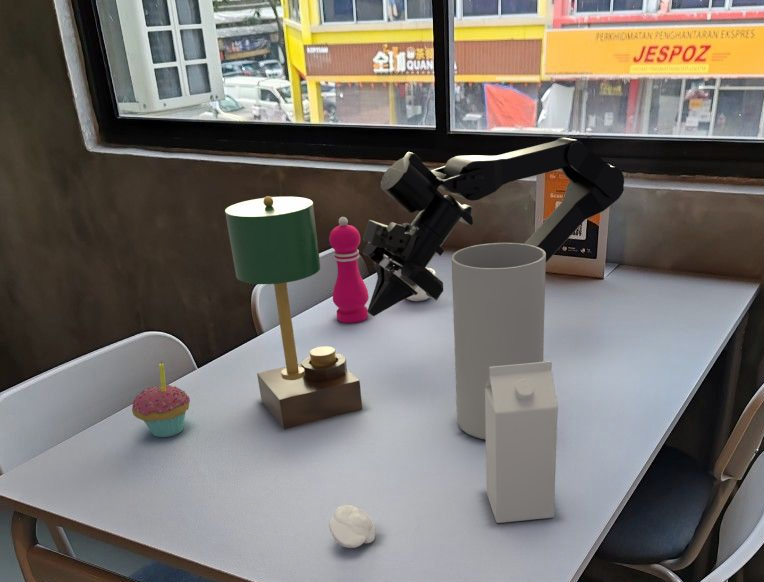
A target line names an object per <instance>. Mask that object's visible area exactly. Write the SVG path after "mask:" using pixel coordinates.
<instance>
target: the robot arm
mask: <svg viewBox="0 0 764 582" xmlns="http://www.w3.org/2000/svg"><path fill="white" fill-rule="evenodd" d="M557 170H561V172H562V173H563V175H564V176H565V178H567V179H568V180H569V182H568V183H567V185H566V188H565V193H564V196H563V199H562V201H561V202H560V203H559V204H558V205H557V207H556V208H555V209H554V210H553V211H552V212H551V213H550V215H548V217H547V218H546V219H545V220H544V221H543V222H542V223H541V224H540V225H539V227H538V228H537V229H536V230H535V231H534V232H533V233H532V234H531V235H530V236H529V238H528V239H527V240H526V241H525V242H524V243H523V244H527V245H532V246H536V247H539V248H541V249H542V250H544V251H545V253H546V263H548V261H550V260H551V258H552V257H553V256H554V255H555V254H556V253H557V252H558V250H559V249H560V248H561V247H562V246H563V245H564V244H565V242H567V241H568V239H569V238H570V237H571V236H572V235H573V234H574V233H575V232H576V231H577V230H578V229H579V227H580V226H581V225H582V224H583V223H584V222H586V220H588V219H590V218H592V217H595V216H597V215H598V214H601V213H603V212H605V211H606V210H607V209H608V208H609V207H611V206H612V205H613V204H615V203H616V202H617V201H618V200H619V199H620V197H622V195H623V192H624V191H625V188H624V186H625V176H624V173H623V171H622V170H621V169H620V168H619V167H616V166H613V165H610V164H609V163H608V162H606V161H605V160H604V159H602V158H600V156H598V155H597V154H595V153H593V151H591V150H589V148H588V147H587V146H586V145H584V144H583V143H582V142H581V141H580V140H578V139H573V138H568V137H559V138H557V139H555V140H554V141H550V142H545V143H542V144H538V145H534V146H530V147H526V148H522V149H521V148H520V149H517V150H514V151H509V152H505V153H502V154H498V155H477V154H476V155H474V154H473V155H455V156H454V157H451V158H449V159H448V160H447V161H446V164H445V165H443V166H441V167H437V168H435V169H432V170H430V168H429V167H427V165H425V163H423V162H422V160H421V158H420V157H418V155H417V154H416V153H413V152H410V151H408V152H406V153H405V155H404V157H402V158H400V159H398V160H397V161H395V162H394V163H393V164H392V165H391V166H389V167H387V169H386V171H385V172H384V174H383V176H382V177H381V181H380V188H381V190H382V191H383V192H385V193H386V194H387V195H388V196H389V197H390V198H391V199H392V200H393V201H394V202H396V203H397V204H398V205H399V206H400V207H401V208H402V209H404V210H405V211H406V212H407V213H408V214H413V213H415V212H418V213H417V215H416V217H415V218H414V219H413V220H412V222H411V223H408V222H405V223H402V224H400V223H399V224H398V223H395V222H393V221H392V222H389V224H388V225H387V224H385V223H381V222H378V221H375V220H371V219H368V222H367V224H366V228H365V232H364V234H363V238H362V240H363V242H367V244H366V245H365V247H364V248H363V249H362V251H361V252H362V253H363V255H365V256H366V257H367V258H369V259H370V260H371V261H372V262H373V267H375V271H376V275H377V279H376V283H375V286H374V289H373V292H372V296H371V299H370V302H369V304H368V306H367V312H368V315H370V316H372V317H375V316H377V315H379V314H380V313H382V312H384V311H386V310H388V309H389V308H391V307H393V306H394V305H396V304H398V303H400V302H403V301H404V300H406V299H407V298H408V297H410V296H412V295H417V294H418V293H417V292H416V291H415V289H416V288H417V286H418V287H420V288H421V289H422V290H423V291H424V292H426V295H427V296H429V299H430V298H431V299H432V300H434V301H435V302H437V300H438V299H439V298H440V297H441V295H442V294H443V292H444V282H443V281H442V280H441V279H440V278H439V277H438V276H437V275H436V276H435V275H434V274H432V273H431V272H430V271H429V270H428V269H427V268H428V267H427V266H428V265H429V264H430V263H431V261H432V260H433V258H434V257H435V256H436V255H437V256H440V257H441V256H442V255H443V253H444V252H445V250H444V249H443V248H442V245H443V244H444V243H445V241H446V240H447V238H449V236H450V234H451V233H452V231H453V230H454V229H455V227H456V226H457V224H458V223H459V222H461V223H464V224H466V225H469V226H472V225H473V224H474V218H473V213H472V209H473V207H472V206H471V205H468V204H466V203H465V204H461V203H460V202H459V201H458V200H457V199H456V198H455V197H454V196H456V197H459V198H461V199H465V200H466V201H472V202H474V201H479V200H482V199H484V198H486V197H489V196H490V195H492V194H494V193H496V192H497V191H499V189H501V188H502V187H503V186H504V185H506V184H509V183H511V182H516V181H519V180H524V179H527V178H531V177H534V176H535V177H536V176H538V175H542V174H546V173H550V172H553V171H554V172H555V171H557ZM438 189H440V190H443V191H447V192H448V193H449V194H445V195H443V194H442V193H441V192H440V191H439V190H438Z"/></svg>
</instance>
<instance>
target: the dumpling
mask: <svg viewBox="0 0 764 582" xmlns="http://www.w3.org/2000/svg"><path fill="white" fill-rule="evenodd" d="M328 528H329V531H330V534H331V536H332V538H333V539H334V544H336V543H337V544H338V545H339V546H341V547H343V548H347V549H355V548H359V547H360V546H362V545H363V544H371V543H372V542H374V540H375V539H376V534H377V533H376V531H377V530H376V527H375V525H374V523H373V521H372V519H371V518H370V516H369V515H368V514H367V513H366V512H365V511H364V510H363V509H361V508H359V507H356V506H354V505H352V504H344V505H340V506H338V508H336V510H335V511H334V513H333V517H332V518H331V519H330V520H329V523H328Z"/></svg>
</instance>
